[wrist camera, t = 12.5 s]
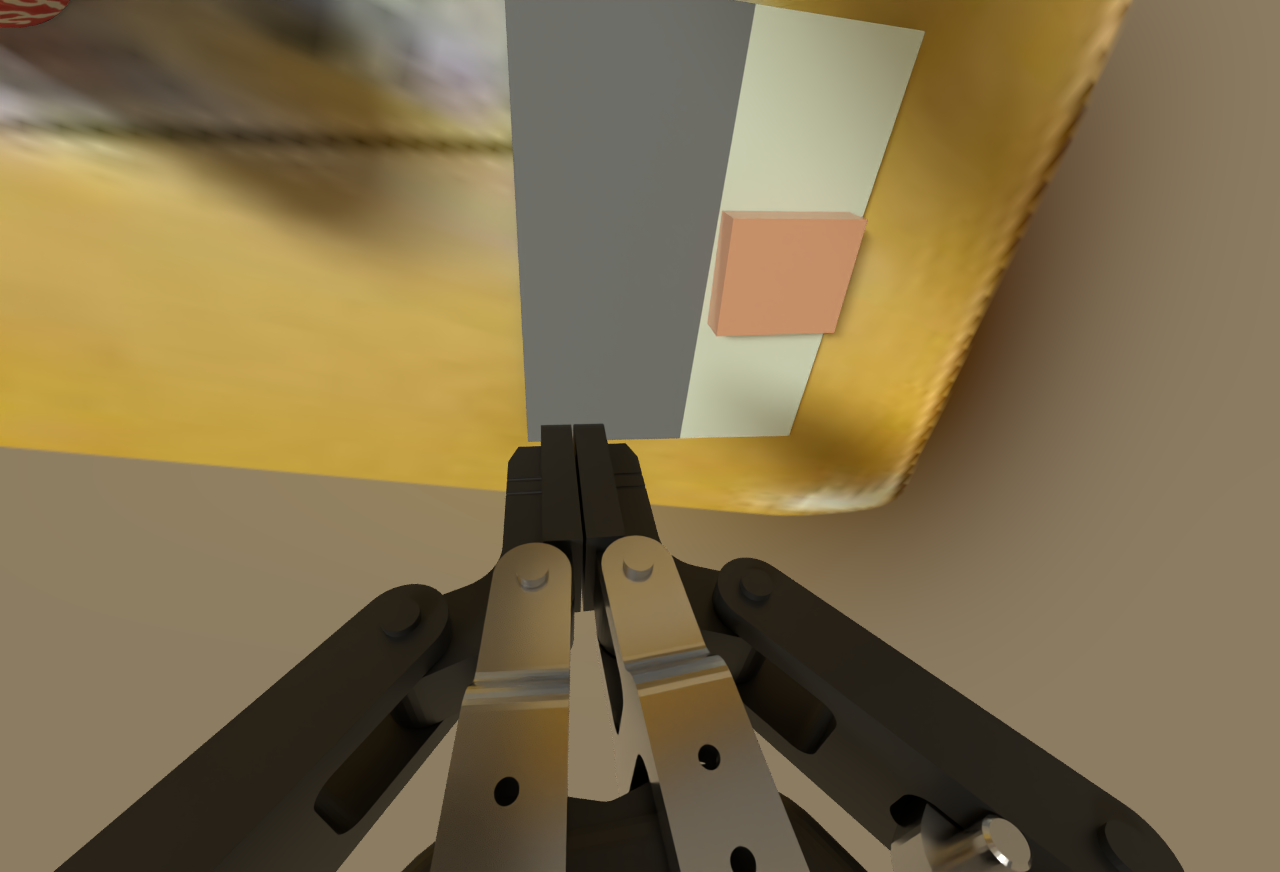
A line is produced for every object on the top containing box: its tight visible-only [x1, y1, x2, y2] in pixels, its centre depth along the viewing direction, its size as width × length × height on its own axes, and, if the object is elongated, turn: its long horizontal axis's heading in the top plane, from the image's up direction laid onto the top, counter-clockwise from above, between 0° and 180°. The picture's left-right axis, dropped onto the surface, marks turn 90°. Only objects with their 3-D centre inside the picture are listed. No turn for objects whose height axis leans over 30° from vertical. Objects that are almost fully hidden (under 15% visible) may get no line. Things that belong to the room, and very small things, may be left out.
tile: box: [707, 211, 868, 336], centre depth 26 cm, size 6×2×7 cm
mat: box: [505, 0, 925, 442], centre depth 26 cm, size 22×18×1 cm
